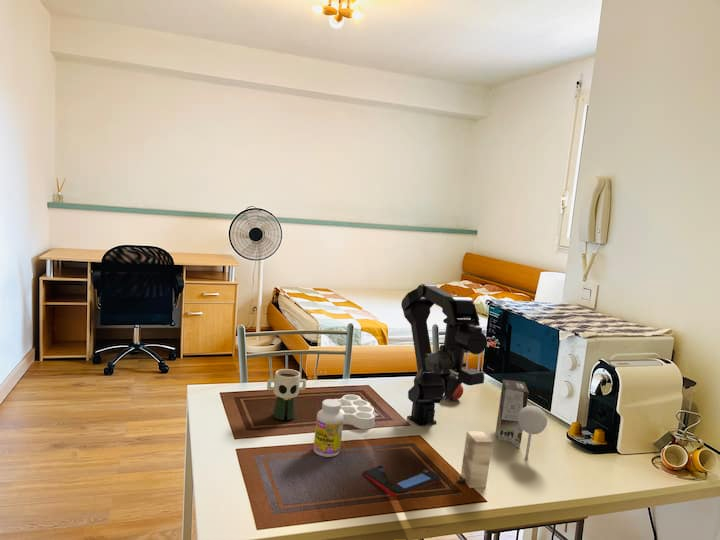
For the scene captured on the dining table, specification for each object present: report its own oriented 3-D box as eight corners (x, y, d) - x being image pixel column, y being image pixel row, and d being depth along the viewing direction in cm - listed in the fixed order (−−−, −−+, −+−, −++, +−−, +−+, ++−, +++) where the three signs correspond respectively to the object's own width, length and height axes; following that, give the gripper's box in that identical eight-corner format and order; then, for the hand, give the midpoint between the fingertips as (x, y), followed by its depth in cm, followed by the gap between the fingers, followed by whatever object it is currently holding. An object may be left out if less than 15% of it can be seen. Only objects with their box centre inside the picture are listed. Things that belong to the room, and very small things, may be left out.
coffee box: (520, 448, 141) (529, 392, 139) (496, 443, 142) (505, 388, 140) (517, 434, 150) (525, 381, 148) (495, 430, 151) (502, 378, 149)
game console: (406, 461, 128) (407, 453, 128) (443, 487, 118) (444, 477, 118) (360, 475, 119) (361, 466, 119) (396, 503, 109) (397, 493, 109)
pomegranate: (448, 410, 169) (473, 393, 170) (437, 392, 168) (462, 375, 169) (442, 403, 176) (465, 387, 177) (431, 386, 176) (454, 370, 177)
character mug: (265, 422, 140) (269, 377, 138) (263, 412, 147) (267, 368, 145) (305, 422, 143) (309, 377, 142) (300, 411, 150) (304, 368, 148)
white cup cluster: (321, 405, 157) (366, 404, 162) (335, 431, 140) (385, 429, 145) (322, 394, 157) (367, 394, 161) (336, 419, 140) (386, 418, 144)
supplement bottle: (308, 453, 126) (313, 403, 124) (320, 442, 132) (325, 395, 130) (333, 460, 124) (338, 410, 122) (344, 449, 130) (349, 401, 128)
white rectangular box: (452, 476, 120) (458, 431, 118) (476, 475, 121) (482, 431, 120) (461, 487, 115) (467, 441, 113) (485, 487, 116) (492, 441, 115)
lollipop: (540, 458, 136) (548, 405, 134) (540, 471, 129) (549, 414, 128) (512, 452, 138) (520, 399, 136) (511, 463, 132) (519, 408, 130)
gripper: (409, 335, 141) (403, 390, 142) (458, 355, 125) (450, 416, 127) (439, 333, 147) (432, 385, 149) (489, 352, 132) (481, 410, 134)
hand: (447, 398), depth 139 cm, fingers closed
